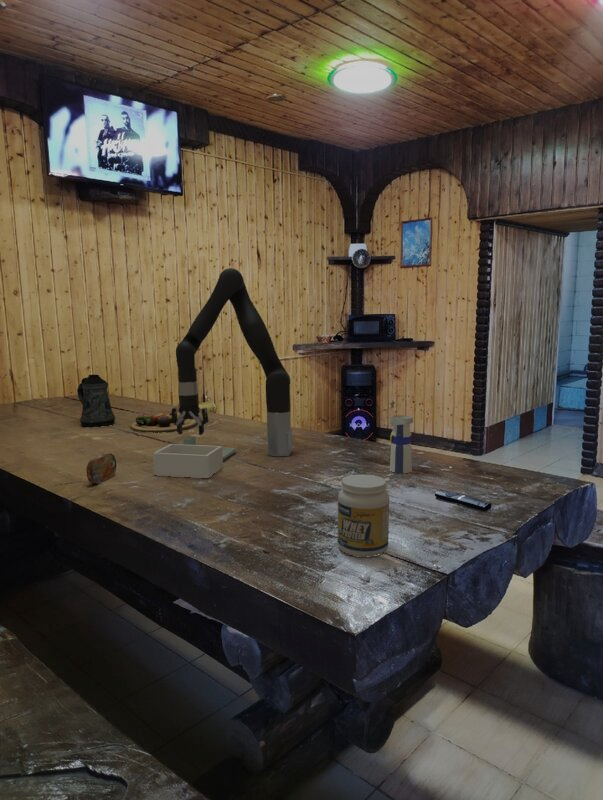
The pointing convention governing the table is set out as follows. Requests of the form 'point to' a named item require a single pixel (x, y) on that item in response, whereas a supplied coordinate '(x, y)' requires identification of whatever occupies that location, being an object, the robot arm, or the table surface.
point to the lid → (225, 450)
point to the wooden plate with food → (160, 423)
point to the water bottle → (400, 443)
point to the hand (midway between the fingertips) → (190, 434)
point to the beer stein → (95, 402)
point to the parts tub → (188, 461)
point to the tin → (101, 468)
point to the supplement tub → (363, 515)
